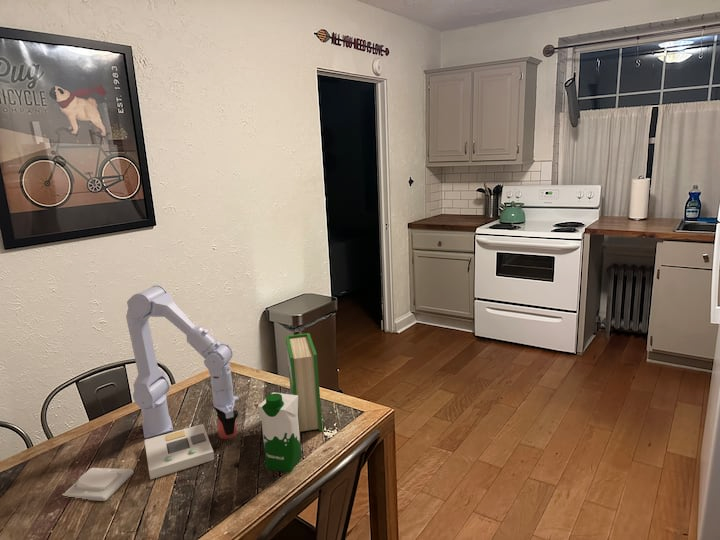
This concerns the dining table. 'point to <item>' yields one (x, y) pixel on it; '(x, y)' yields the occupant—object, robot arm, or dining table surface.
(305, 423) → the hardback book
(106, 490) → the light switch
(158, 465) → the panel
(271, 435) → the milk carton
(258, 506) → the dining table surface
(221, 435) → the cap
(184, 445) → the button
